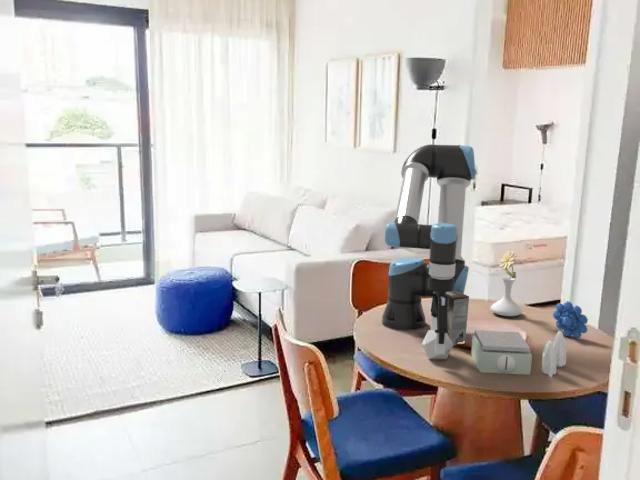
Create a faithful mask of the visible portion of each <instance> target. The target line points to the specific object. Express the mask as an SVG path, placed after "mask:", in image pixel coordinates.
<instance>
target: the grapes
mask: <svg viewBox="0 0 640 480" xmlns="http://www.w3.org/2000/svg"><path fill="white" fill-rule="evenodd" d="M555 307H556V308H555V309H556V310H555V311H553V314H552V316H553V318H554V319H555V320H556V322H555V325H556V328H557V329H559V331H563V332H562V333H563V335H565V337H568V338H569V337H572V336H573V337H574V338H575V339H580V338H581V337H582V334H586V333H588V327H587V325H586V324H587V323H588V320H589V319H588V317H587V316H586V315H585V314H582V313H583V311H582V308H581V307H580V306H579V305H573V303H572V302H570V301H568V300H567V301H564V303H563V304H562V303H561V302H560V303H559V302H558V303H557V304H556V305H555Z"/></svg>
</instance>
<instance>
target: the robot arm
mask: <svg viewBox="0 0 640 480" xmlns="http://www.w3.org/2000/svg"><path fill="white" fill-rule="evenodd" d="M475 162H476V161H475V151H474V148H473V147H472V146H469V145H462V144H456V145H454V144H426V145H422V146H420V147H419V148H417V149H415V150H414V151H413V152H411V153H410V154H409V155H408V156H407V158H406V159H405V160H404V163H403V164H402V167H401V172H400V173H401V177H402V182H401V186H400V192H399V198H398V201H397V207H396V211H395V217H394V221H393V222H387V224H386V226H385V229H384V243H385V245H386V246H387V247H393V248H407V249H420V250H422V249H423V250H429V261H428V262H429V263H426V262H425V260H424V259H423V258H422V257H416V256H415V257H414V256H413V257H412V256H409V257H401V258H397V259H394V260H392V261H391V262H390V264H389V271H388V273H387V274H388V289H387V291H388V292H387V303H386V304H385V307H384V311H383V313H382V315H381V323H382V324H383V326H385V327H387V328H389V329H394V330H400V331H416V330H417V331H418V330H420V329H423V328H424V327H425V326H426V316H425V312H424V309H423V305H422V304H423V303H422V298H432V299H431V307H430V314H431V315H430V316H431V318H430V330H435V333H436V347H435V354H445V344H446V333H448V330H447V304H448V297H446V292H450V291H452V290H453V289H454V290H456V291H458V292H460V293H462V294H465V291H466V284H467V280H468V274H469V269H470V267H469V266H468V265H466V260H465V259H464V258H463V257H462V245H463V231H464V230H463V229H464V219H465V218H464V217H465V215H464V214H465V205H466V204H465V201H466V190H467V188H469V186H470V185H471V182H472V180H475V179H476V165H475V164H476V163H475ZM429 178H433V179H434V178H435V179H436V184H437V185H438V186H439V187H440V192H439V193H440V194H439V204H438V217H437V218H438V219H437V223H434V224H420V223H419V221H420V215H421V214H420V213H421V209H422V202H423V196H424V190H425V184H426V182H427V181H428V179H429ZM441 328H444V329H441Z"/></svg>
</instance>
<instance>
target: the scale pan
mask: <svg viewBox="0 0 640 480" xmlns="http://www.w3.org/2000/svg"><path fill="white" fill-rule="evenodd" d="M474 335H475V336H476V338H477V340H478V342H479V343H480V345H481V347H482V349H483V350H496V351H518V352H530V353H531V347H530V345H528V343H527V342H526V340H525V339H524V337H523V336H522V334H521V333H520V332H519V331H503V330H502V331H501V330H500V331H499V330H481V329H480V330H478V329H477V330H474Z"/></svg>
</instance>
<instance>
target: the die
mask: <svg viewBox="0 0 640 480" xmlns="http://www.w3.org/2000/svg"><path fill="white" fill-rule="evenodd" d="M421 346H422V349H423V350H424V352H425V355H426V356H427V359H428V360H447V359H448V357H449V354H450V353H451V351H452V349H453V348H454V346H453V343H452V341H451V340H450V338H449V336H448V334H447V333H446V344H445V354H435V347H436V333H435V330H431V329H430V330H429V329H428V330H427V332H426V334H425V337H424V338H423V341H422V342H421Z"/></svg>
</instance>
